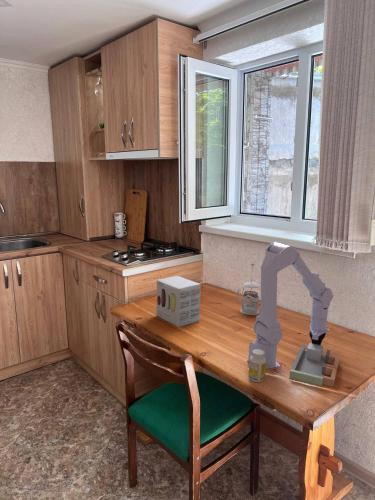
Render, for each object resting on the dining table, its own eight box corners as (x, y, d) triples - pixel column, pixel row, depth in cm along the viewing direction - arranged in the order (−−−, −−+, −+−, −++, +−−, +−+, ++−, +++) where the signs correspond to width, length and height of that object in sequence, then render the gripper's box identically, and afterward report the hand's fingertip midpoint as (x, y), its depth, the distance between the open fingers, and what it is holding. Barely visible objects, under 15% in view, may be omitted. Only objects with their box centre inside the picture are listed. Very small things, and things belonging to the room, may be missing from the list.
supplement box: (155, 316, 179) (155, 279, 175) (176, 310, 187) (177, 275, 184) (178, 327, 166) (179, 288, 162) (200, 320, 174) (201, 283, 171)
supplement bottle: (250, 382, 123) (252, 355, 121) (246, 374, 128) (248, 348, 126) (266, 382, 123) (268, 355, 122) (262, 373, 129) (263, 347, 127)
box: (301, 351, 146) (302, 344, 146) (339, 359, 140) (340, 352, 140) (289, 379, 126) (290, 370, 125) (333, 390, 120) (333, 381, 119)
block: (320, 361, 137) (321, 351, 136) (306, 358, 139) (307, 348, 138) (322, 355, 142) (323, 345, 141) (308, 352, 144) (309, 343, 143)
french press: (261, 315, 183) (264, 265, 178) (237, 314, 183) (240, 264, 179) (258, 308, 193) (261, 260, 188) (235, 307, 193) (237, 260, 188)
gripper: (328, 325, 133) (324, 360, 136) (332, 312, 146) (329, 345, 148) (307, 321, 136) (304, 356, 139) (313, 309, 149) (310, 341, 151)
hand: (315, 350), depth 144 cm, fingers closed
